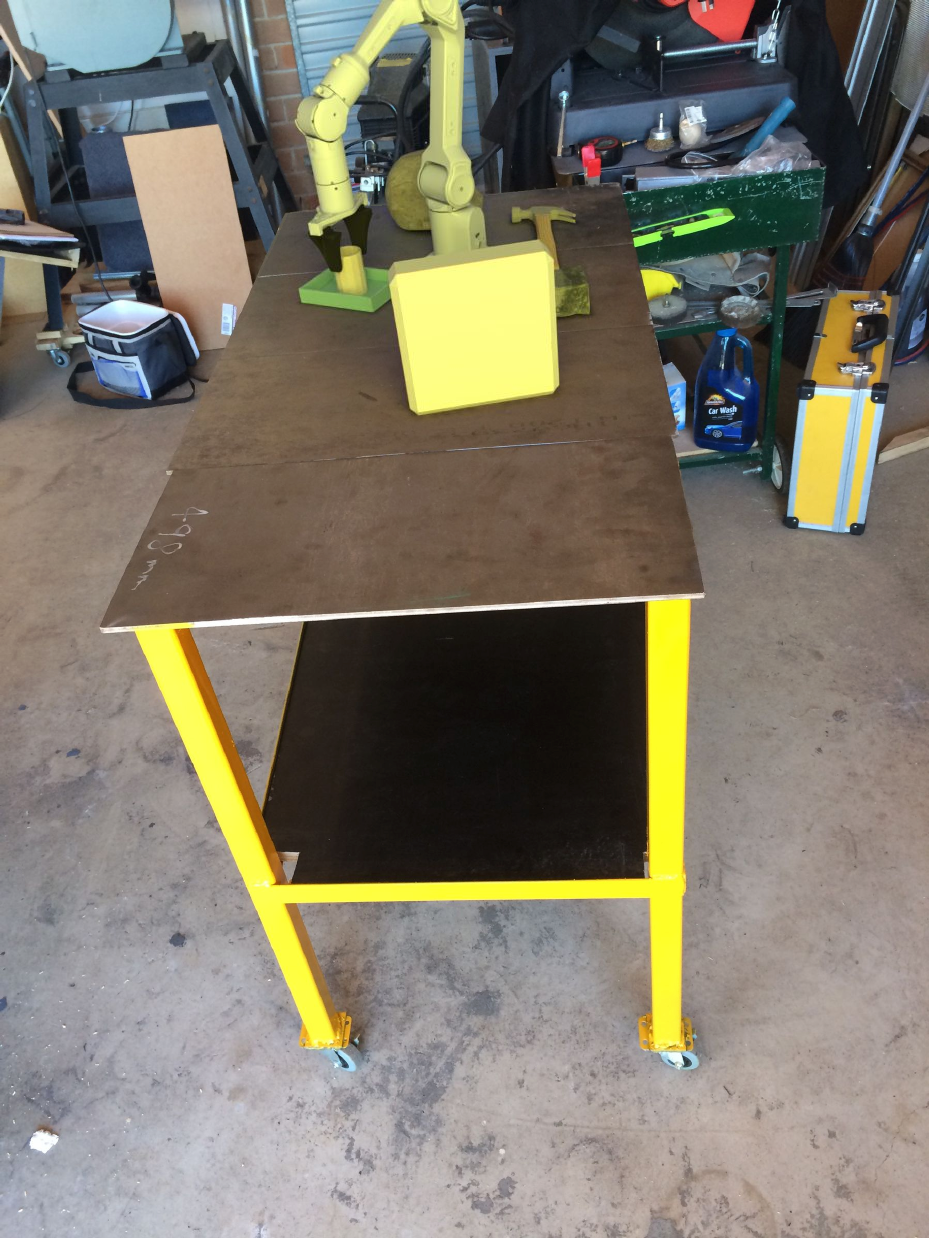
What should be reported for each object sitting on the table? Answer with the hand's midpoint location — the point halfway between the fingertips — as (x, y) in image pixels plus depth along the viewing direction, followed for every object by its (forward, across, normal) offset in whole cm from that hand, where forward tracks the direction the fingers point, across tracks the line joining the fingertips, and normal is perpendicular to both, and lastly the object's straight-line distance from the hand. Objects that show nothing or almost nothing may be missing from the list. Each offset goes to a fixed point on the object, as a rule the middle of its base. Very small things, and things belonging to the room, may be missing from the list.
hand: (348, 262), depth 161 cm
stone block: (+6, -3, +35) cm, 36 cm away
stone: (+6, -31, -1) cm, 31 cm away
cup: (+5, 0, 0) cm, 5 cm away
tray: (+6, 0, 0) cm, 6 cm away
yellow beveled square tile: (+6, +25, +39) cm, 47 cm away
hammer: (+6, -28, +24) cm, 37 cm away
